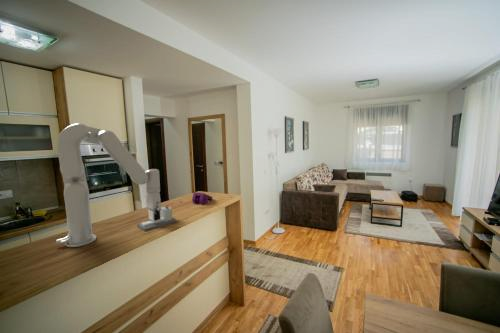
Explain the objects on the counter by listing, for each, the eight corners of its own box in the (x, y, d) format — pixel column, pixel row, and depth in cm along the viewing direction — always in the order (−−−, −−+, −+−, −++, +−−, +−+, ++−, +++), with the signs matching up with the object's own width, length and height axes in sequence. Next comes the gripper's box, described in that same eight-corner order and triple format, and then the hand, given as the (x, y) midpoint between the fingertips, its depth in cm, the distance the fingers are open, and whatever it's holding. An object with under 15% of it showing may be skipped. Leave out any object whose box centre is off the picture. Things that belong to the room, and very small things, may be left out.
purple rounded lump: (203, 206, 190) (191, 202, 174) (205, 196, 193) (193, 192, 177) (212, 207, 187) (200, 203, 171) (214, 197, 189) (203, 193, 173)
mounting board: (144, 231, 124) (143, 214, 123) (137, 226, 131) (136, 210, 130) (176, 221, 139) (175, 206, 138) (168, 217, 146) (168, 203, 145)
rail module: (153, 223, 130) (152, 211, 129) (149, 220, 134) (148, 209, 133) (160, 221, 133) (160, 209, 132) (156, 218, 137) (155, 207, 136)
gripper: (140, 188, 134) (142, 216, 136) (153, 193, 123) (155, 223, 125) (153, 186, 140) (154, 213, 142) (166, 190, 128) (167, 220, 131)
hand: (154, 218), depth 133 cm, fingers closed on rail module, 6 cm apart
